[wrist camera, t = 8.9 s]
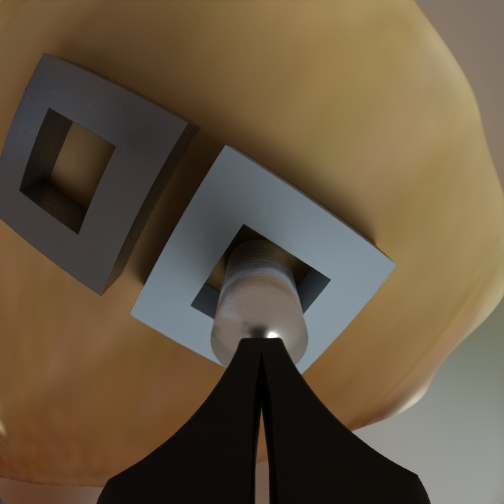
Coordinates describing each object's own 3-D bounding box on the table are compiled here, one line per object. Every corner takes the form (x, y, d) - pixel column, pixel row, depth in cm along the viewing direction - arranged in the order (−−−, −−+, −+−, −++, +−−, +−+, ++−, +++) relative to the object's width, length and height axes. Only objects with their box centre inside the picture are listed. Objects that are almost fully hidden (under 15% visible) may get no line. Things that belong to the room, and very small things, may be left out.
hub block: (147, 289, 18) (130, 314, 15) (231, 145, 15) (225, 144, 12) (279, 362, 20) (282, 392, 17) (376, 245, 17) (397, 265, 14)
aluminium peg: (214, 266, 17) (190, 338, 11) (261, 225, 16) (264, 280, 10) (255, 307, 18) (255, 390, 11) (302, 271, 17) (327, 344, 11)
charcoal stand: (16, 198, 16) (-12, 207, 13) (71, 62, 13) (44, 52, 10) (121, 274, 17) (101, 296, 15) (200, 127, 15) (188, 123, 12)
